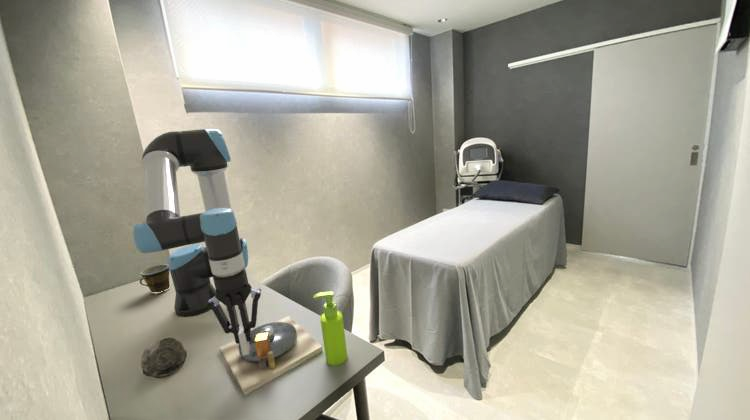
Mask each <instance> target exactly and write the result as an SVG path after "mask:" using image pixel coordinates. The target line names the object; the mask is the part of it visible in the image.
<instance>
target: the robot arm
mask: <svg viewBox="0 0 750 420" xmlns="http://www.w3.org/2000/svg"><path fill="white" fill-rule="evenodd" d="M231 161H232V158H231V155H230V152H229V148H228V146H227V143H226V140H225V138H224V135H223V133H222V132H221V130H219V129H215V128H202V129H193V130H192V129H191V130H180V131H176V130H174V131H168V132H164V133H162V134H160V135H158V136H156V137H155V138H154V139H153V140H151V141H150V143H149V144H148V145H147V146H146V147H145V149H144V151H143V153H142V156H141V166H142V168H143V170H144V171H145V221H143V222H140V223H137V224H135V225H134V226H133V228H132V229H133V230H132V235H133V241H134V245H135V247H136V249H137V250H138V252H140V253H142V254H151V253H157V252H162V251H167V250H171V249H176V248H178V249H177V250H175V251H173V252H172V253H171V254H169V256H168V257H167V263H168V264H167V265H169V274H170V276H171V279H172V282H173V283H172V284H173V288H174V290H175V297H174V298H175V299H174V306H173V309H174V312H175V315H176V316H177V317H179V318H191V317H196V316H200V315H203V314H204V313H207V312H209V311H212V312H213V314H214V316H215V318H216V319H217V321H218V323H219V324H220V326H221V328H222V330H223V332H224V333H225V334H227V335H228V334H233V337H234V341H235V342H236V344H239V343H240V345H241V350H242V354H243V355H247V354H249V351H250V344H249V341H251V338H252V334H251V331H252V329H255V328H256V325H257V319H258V318H257V317H258V308H259V307H258V306H259V300H260V298H261V295H262V289H261V288H258V289H254V288H252V286H251V284H250V283H249V279H248V276H247V275H248V273H247V269H246V268H247V267H248V265H249V264H248V263H249V250H248V242H247V239H246V238H242V235H241V234H240V233H239V230H238V223H237V222H238V221H237V218H236V216H235V211H234V210H233V209H232V205H231V204H232V203H231V200H230V195H229V194H230V193H229V188H228V185H227V179H226V174H225V171H226V170H227V169H228V167H229V166H228V163H229V162H231ZM181 167H190V171H191V172H192V173H193V174H195V175H196V176H197V179H198V184H199V189H200V193H201V197H202V202H203V206H204V210H205V211H203V212H200V213H194V214H190V215H183V216H181V212H180V202H179V200H180V199H179V192H178V191H179V190H178V180H177V172H178V171H179V168H181ZM201 243H204V244H205V247H204V246H203V245H202V244H201ZM180 247H181V248H180ZM211 278H212V280H213V283H214V284H212V282H211ZM249 296H250V298H251V299H252V305H251V315H250V316H251V318H249V314H248V310H247V309H248V308H247V304H246V301H247V300H248V298H249ZM221 303H222V304H223V305H225V306H226V309H227V312H228V316H229V319H228V316H227V314H226V312H225V311H224V308H222V307H223V306H222V305H221ZM236 306H237V308H236ZM236 309H238V310H239V315H240V320H241V323H242V324H241V325H242V327H240V326H241V325H240V323H239V319H238V314H237V310H236Z"/></svg>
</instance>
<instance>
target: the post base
mask: <svg viewBox="0 0 750 420" xmlns="http://www.w3.org/2000/svg"><path fill="white" fill-rule="evenodd" d="M275 322H285V323H289V324H291V325H293V326H294V327H295V329H296V333H297V341H296V343H295V345H294V346H293V348H292V349H291V350H290V351H288V352H287V353H286V354H284V355H283V356H281V357H279V358H277V359H275V360H274V355H273V352H272V351H269V352H268V353H267V359H268V364H267V367H265V368H259V363H250V362H247V361H245V360H243V359H242V358H241V356H240V353H239V344H236V342H235V340H233V341H231V342H228V343H226V344H224V345H222V346H219V351H220V353H221V355H222V356H223V359H224V361H225V362H226V364H227V366H228V367H229V369H230V371H231V373H232V374H233V377H234V378H235V380H236V382H237V384H238V385H239V388H240V389H241V390H242V392H243V394H244V396H246V395H248V394H250V393H251V392H253V391H256V390H257V389H258V388H260V387H262V386H264V385H265V384H267V383H269V382H270V381H273V380H274V379H276V378H278V377H279V376H281V375H283V374H285V373H286V372H287V373H288V371H290V370H292V369H293V368H295V367H297V366H299V365H301V364H302V363H304V362H305V361H308V360H309V359H311V358H312V357H315V356H317V355H318V354H319V353H321V352H323V346H322V345H321V344H320V343H319V342H318V341H316V340H315V339H314V338H313V336H311V335H310V334H309V333H308V332H306V330H305V329H304V328H302V327H301V326H300V325H299V324H298V323H297V322H296V321H295V320H294V319H292V317H291V316H289V315H287V316H285V317H283V318H280V319H278V320H277V321H275ZM314 355H315V356H314ZM307 359H308V360H307Z"/></svg>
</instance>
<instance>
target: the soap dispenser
mask: <svg viewBox="0 0 750 420" xmlns="http://www.w3.org/2000/svg"><path fill="white" fill-rule="evenodd" d="M334 297H335V292H334V291H321V292H317V293H315V294H313V297H312V299H313V300H317V299H322V298H325V303H324V304H323V313H322V314H321V315H320V317H319V320H320V325H321V327H320V328H321V333H322V341H323V347H324V354H325V361H326V363H328V365H331V366H339V365H341V364H343V363H345V362H346V361H347V358H348V351H347V343H346V341H347V340H346V335H345V326H344V325H345V324H344V317H343V313H342V312H341V311H340V310H338V307H337V302H335V301H334V300H333V298H334Z"/></svg>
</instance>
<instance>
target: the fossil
mask: <svg viewBox="0 0 750 420" xmlns="http://www.w3.org/2000/svg"><path fill="white" fill-rule="evenodd" d="M187 355H188V351H187V350H186V349H185V348H184V344H183V343H182V341H181V340H180V339H179V340H178V339H177V338H175V337H174V336H165V337H163V338H159V339H158V340H156V341H155V342H153V343H152V344H151V345H149V346H147V347H146V348H145V349H144V350H143V352H142V355H141V359H140V366H141V368H142V374H143V375H144V376H145V377H152V378H155V379H164V378H167V377H170V376H172V375H174V374H175V373H177V372H178V371H179V370H180V369H181V368H182V367H183V365H184V364H185V362H186V359H187Z"/></svg>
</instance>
